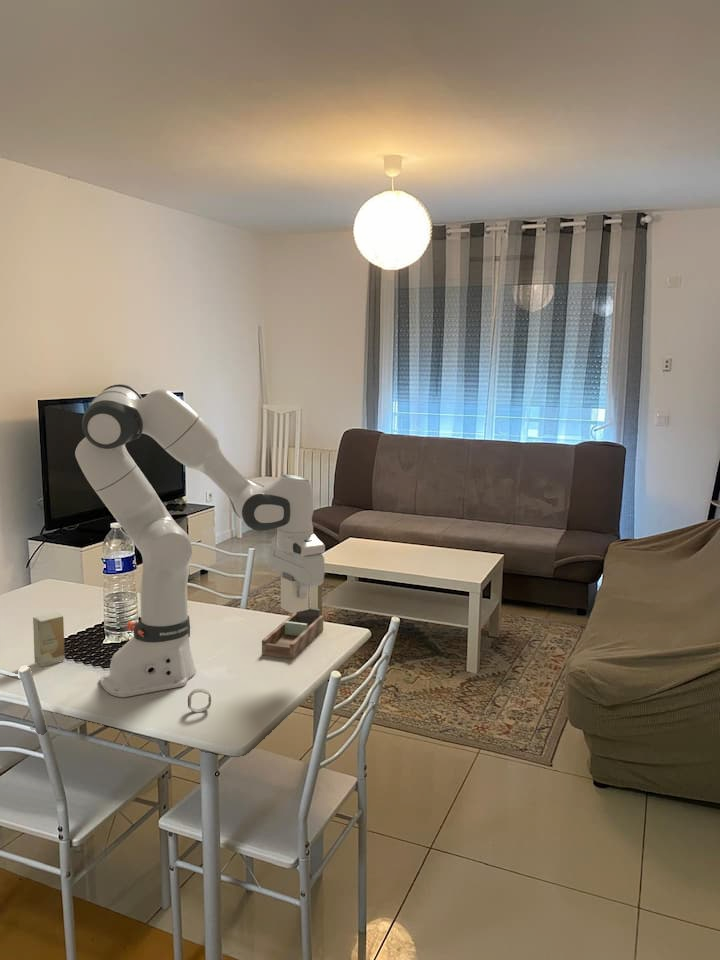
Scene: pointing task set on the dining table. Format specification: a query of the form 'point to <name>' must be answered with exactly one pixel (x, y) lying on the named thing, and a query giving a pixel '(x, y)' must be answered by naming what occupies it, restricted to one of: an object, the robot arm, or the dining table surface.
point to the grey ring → (190, 700)
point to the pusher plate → (294, 628)
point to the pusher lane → (291, 644)
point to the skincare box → (48, 639)
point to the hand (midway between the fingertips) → (294, 594)
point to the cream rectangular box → (292, 595)
